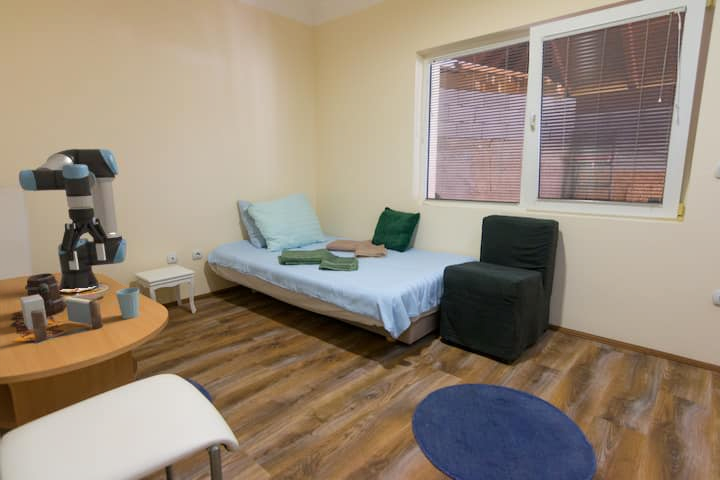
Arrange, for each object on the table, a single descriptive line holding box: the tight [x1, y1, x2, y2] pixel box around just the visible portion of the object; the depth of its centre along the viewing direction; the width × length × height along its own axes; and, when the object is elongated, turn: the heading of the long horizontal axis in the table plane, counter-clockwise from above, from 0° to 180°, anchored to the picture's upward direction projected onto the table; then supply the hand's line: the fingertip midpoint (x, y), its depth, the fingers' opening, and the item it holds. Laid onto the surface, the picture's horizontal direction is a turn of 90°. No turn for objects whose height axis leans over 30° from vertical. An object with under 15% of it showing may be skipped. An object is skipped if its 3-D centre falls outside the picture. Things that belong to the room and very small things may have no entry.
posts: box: [31, 299, 103, 343], centre depth 135 cm, size 19×3×10 cm, turn 127°
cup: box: [115, 287, 140, 320], centre depth 150 cm, size 8×8×10 cm
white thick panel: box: [63, 296, 92, 326], centre depth 142 cm, size 12×2×9 cm, turn 72°
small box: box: [19, 294, 48, 331], centre depth 142 cm, size 8×6×10 cm
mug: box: [24, 272, 67, 317], centre depth 152 cm, size 16×12×15 cm
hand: (88, 264), depth 144 cm, fingers open, 13 cm apart
